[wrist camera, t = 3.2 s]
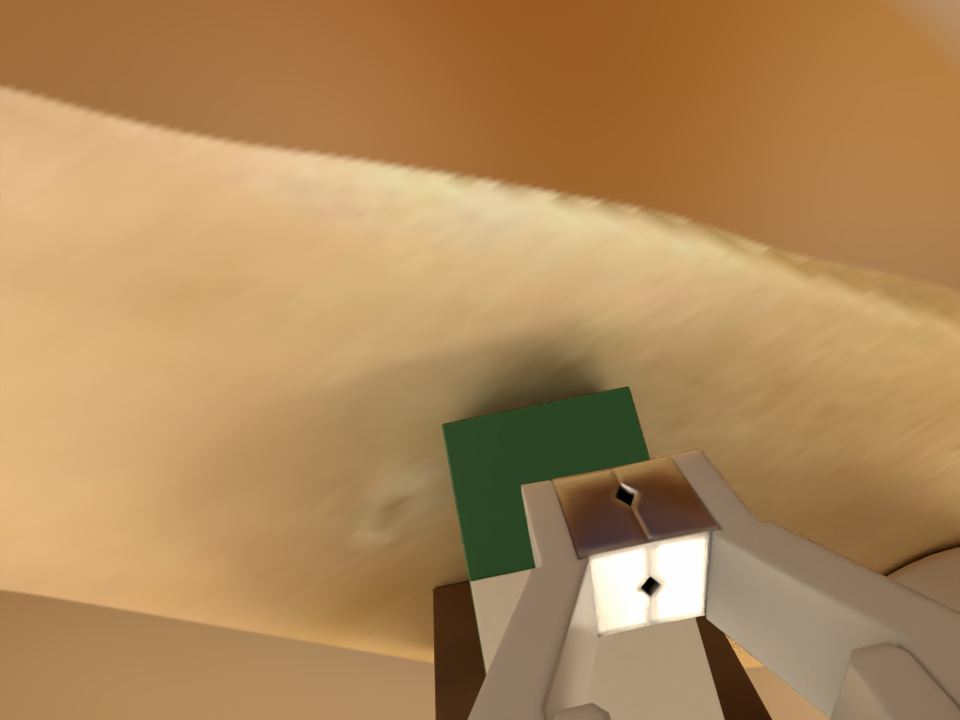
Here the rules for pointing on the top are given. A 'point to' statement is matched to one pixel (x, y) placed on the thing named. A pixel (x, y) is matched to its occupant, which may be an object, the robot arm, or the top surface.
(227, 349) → the top surface
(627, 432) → the block
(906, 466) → the top surface
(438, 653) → the block
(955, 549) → the cylinder vase
